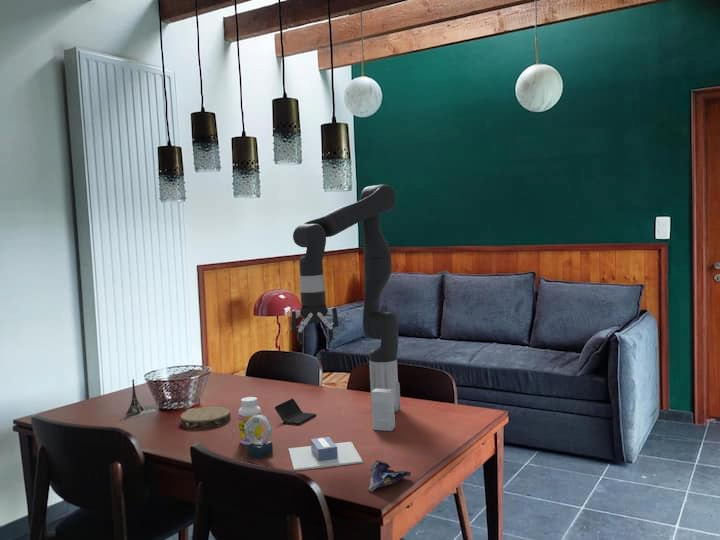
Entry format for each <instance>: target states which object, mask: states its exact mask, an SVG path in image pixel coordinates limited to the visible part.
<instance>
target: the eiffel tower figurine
mask: <svg viewBox="0 0 720 540" xmlns="http://www.w3.org/2000/svg"><path fill="white" fill-rule="evenodd" d="M131 382H132V397H131V403H130V404H129V408H128V409H127V412H126V413H125V416H127V415H128V416H129V415H131V417H130V419H133V418H135V417H140V416H143V415H147V414H152V413H155V411H156V409H155V408H152V405H146V407H148V408H150V409H145V408H143V406H142V405H141V403H140V402H139V400H138V397H137V394H136V393H137V392H136V387H135V379H134V378H132V381H131ZM132 415H135V416H134V417H133V416H132ZM127 419H129V417H123V418H121V419H120V420H121V421H123V420H127Z"/></svg>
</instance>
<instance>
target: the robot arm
mask: <svg viewBox="0 0 720 540" xmlns="http://www.w3.org/2000/svg"><path fill="white" fill-rule="evenodd" d="M397 198H398V197H397V193H396V190H395V189H394V188H393V187H392V186H390V185H389V184H377V185H369V186H366V187H364V188H363V189H362V191H361V193H360V196H359V200H358V201H356V202H353V203H350V204H347V205H343V206H341V207H337V208H336V209H333V210H332V211H329V212H328V213H325V214H324V215H322V216H320V217H318V218H314V219H312V220H308V221H306V222H303V223H301V224H299V225H298V226H297V227H295V229H294V231H293V233H292V240H293V242H294V244H296V246H298V247H301V248H306V251H305V255H303V256H301V257H300V258H299V263H298V264H299V290H300V291H299V292H300V293H299V294H300V307H301V308H300V309H299V310H294V309H292V310H291V311H290V329H291V331H293V332H294V331H295V332H297V341H298V343H300V345H304V333H303V331H304V329H305V327H306V326H307V325H308V324H310V325H311V324H315V323H316V324H320V323H323V324H324V325H325V326H326V327H327V329H326V332H327V333H326V334H327V335H326V336H327V342H328V343H329V342H332V340H334V335H333V333H334V332H333V329H334V328H338V327H339V318H338V309H337V307H335V306H332V307H328V308H327V301H326V287H325V286H326V285H325V284H326V283H325V282H326V281H325V277H324V266H323V265H324V263H323V260H324V255H325V249H326V244H327V238H332V237H334V236H336V235H338V234H340V233H342V232H343V231H345V230H347V229H349V228H351V227H353V226H355V225H356V224H358V223H362V234H363V235H362V236H363V237H362V238H363V275H364V280H363V281H364V293H363V295H364V297H363V298H364V299H363V310H362V311H363V313H362V331H363V334H364V336H365V337H366V338H368V339H370V340H372V339H373V340H380V346H379V347H378V348H375V349H373V350H370V351H369V353H368V360H369V381H370V382H369V384H370V392H371V391H373V390H374V389H375V388H376V389H393V396H394V413H396V412H401V410H402V409H401V393H400V392H401V388H400V382H399V380H398V379H399V378H398V377H399V376H398V351H399V322H398V318H397V315H396V314H395V313H394V312H390V311H380V298H381V294H382V292H383V290H384V288H385V286H386V285H387V284H388V281H389V279H390V277H391V275H392V274H391V273H392V252H391V248H390V246H389V243H388V241H387V239H386V238H385V235H384V233H383V231H382V227H381V214H383V213H388V212H390V211H391V210H392V209H394V207H395V206H396V204H397V201H398V199H397ZM328 313H329V314H330V315H331V318H332V323H330V322H329V321H328V319H327V318H326V317H327V314H328ZM299 315H301V317H302V320H301V321H300V324H299V325H298V326H297V319H298V317H299ZM370 406H371V411H372V399H371V398H370Z"/></svg>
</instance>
